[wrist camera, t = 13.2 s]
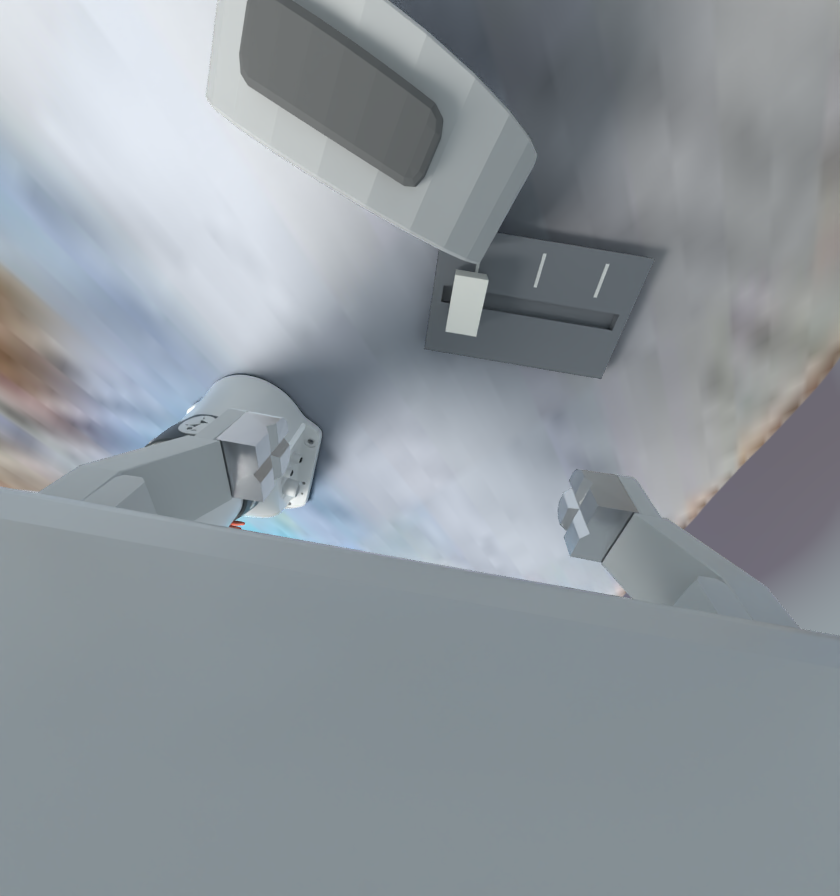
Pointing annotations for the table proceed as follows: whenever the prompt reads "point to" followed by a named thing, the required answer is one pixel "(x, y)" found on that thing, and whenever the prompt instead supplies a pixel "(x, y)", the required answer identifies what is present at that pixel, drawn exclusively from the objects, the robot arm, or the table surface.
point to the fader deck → (542, 304)
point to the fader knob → (466, 302)
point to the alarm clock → (372, 114)
